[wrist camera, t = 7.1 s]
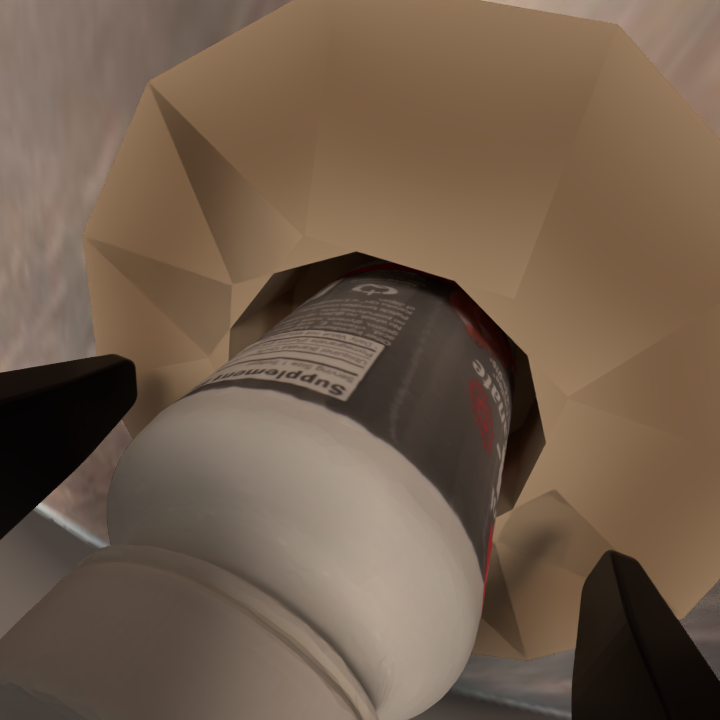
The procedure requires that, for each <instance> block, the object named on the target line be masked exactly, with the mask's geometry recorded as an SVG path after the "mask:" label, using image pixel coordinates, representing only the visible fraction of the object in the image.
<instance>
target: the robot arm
mask: <svg viewBox="0 0 720 720" xmlns="http://www.w3.org/2000/svg"><path fill="white" fill-rule="evenodd" d="M137 396H138V390H137V376H136V366H135V364H134V362H133V361H132V360H130V359H128V358H125V357H123V356H120V355H117V354H108V355H102V356H96V357H90V358H84V359H78V360H73V361H67V362H61V363H55V364H49V365H43V366H37V367H31V368H25V369H20V370H14V371H8V372H2V373H0V540H1V539H2V538H3V537H4V536H5V535H6V534H7V533H8V532H9V531H11V530H12V528H14V527H15V526H16V525H17V524H18V523H19V522H20V521H21V520H22V519H23V518H24V517H25V516H27V515H28V514H29V513H30V512H31V511H32V510H33V509H34V508H35V507H36V506H37V505H38V504H39V503H41V502H42V501H43V500H44V499H45V498H46V497H47V496H48V495H49V494H50V493H51V492H52V491H53V490H54V489H56V488H57V487H58V486H59V485H60V484H61V483H62V482H63V481H64V480H65V479H66V478H67V477H68V476H69V475H71V474H72V473H73V472H74V471H75V470H76V469H77V468H78V467H79V466H80V465H81V464H82V463H83V462H84V461H85V460H86V459H87V457H88V456H89V455H90V454H91V453H92V452H93V451H94V450H95V449H96V447H97V446H98V445H99V444H100V443H101V442H102V441H103V440H104V438H105V437H106V436H107V435H108V434H109V433H110V432H111V431H112V429H113V428H114V427H115V426H116V425H117V424H118V423H119V421H120V420H121V419H122V418H123V417H124V416H125V415H126V414H127V412H128V411H129V410H130V409H131V408H132V407H133V405H134V404H135V402H136V399H137ZM572 720H720V681H719V680H718V678H717V677H716V675H715V674H714V672H713V671H712V669H711V668H710V666H709V665H708V663H707V662H706V660H705V659H704V657H703V656H702V654H701V653H700V651H699V650H698V648H697V647H696V646H695V644H694V643H693V641H692V640H691V638H690V637H689V635H688V634H687V632H686V631H685V629H684V628H683V626H682V625H681V623H680V622H679V620H678V619H677V617H676V616H675V614H674V613H673V612H672V610H671V609H670V607H669V606H668V604H667V603H666V601H665V600H664V598H663V597H662V595H661V594H660V592H659V591H658V589H657V588H656V586H655V585H654V583H653V582H652V580H651V579H650V578H649V576H648V575H647V573H646V572H645V570H644V569H643V567H642V566H641V564H640V563H639V562H638V561H637V560H636V559H634V558H633V557H630V556H628V555H625V554H623V553H620V552H618V551H615V550H607V551H606V552H605V553H604V554H603V555H602V557H601V558H600V560H599V561H598V562H597V564H596V565H595V567H594V568H593V570H592V571H591V573H590V574H589V575H588V577H587V578H586V580H585V582H584V585H583V588H582V593H581V601H580V611H579V620H578V630H577V639H576V649H575V659H574V668H573V679H572Z"/></svg>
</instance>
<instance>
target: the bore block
mask: <svg viewBox="0 0 720 720" xmlns="http://www.w3.org/2000/svg"><path fill="white" fill-rule="evenodd" d="M82 236H83V245H84V253H85V261H86V270H87V278H88V286H89V295H90V303H91V312H92V320H93V328H94V337H95V345H96V353H97V356H102V355H108V354H117V355H120V356H123V357H125V358H128V359H130V360H132V361H133V362H134V364H135V366H136V376H137V390H138V396H137V399H136V402H135V404H134V405H133V407H132V408H131V409H130V410H129V411H128V412H127V414H126V415H125V416H124V417H123V418H122V420H123V421H124V423H125V425H126V427H127V429H128V430H129V432H130V434H131V436H132V438H133V439H134V438H135V437H136V436H137V435H138V434H139V433H140V432H141V431H142V430H143V429H144V428H145V427H146V426H147V425H148V424H149V423H150V422H151V421H152V420H153V419H154V418H155V417H156V416H157V415H158V414H159V413H160V412H161V411H162V410H164V409H165V408H167V407H168V406H170V405H171V404H173V403H174V402H175V401H177V400H178V399H180V398H181V397H183V396H184V395H185V394H187V393H188V392H189V391H190V390H192V389H193V388H194V387H196V386H197V385H198V384H200V383H201V382H202V381H204V380H205V379H206V378H208V377H209V376H210V375H212V374H213V373H214V372H215V371H217V370H218V369H219V368H220V367H222V366H223V365H224V364H226V363H227V362H228V361H230V360H231V359H232V358H234V357H235V356H236V355H237V354H238V353H240V352H241V351H243V350H244V349H245V348H247V347H248V346H250V345H251V344H252V343H254V342H255V341H256V340H257V339H259V338H260V337H261V336H263V335H264V334H265V333H266V332H268V331H269V330H270V329H271V328H273V327H274V326H275V325H276V324H278V323H279V322H280V321H281V320H283V319H284V318H285V317H287V316H288V315H290V314H291V313H292V312H294V311H295V310H296V309H297V308H298V307H300V306H301V305H302V304H303V303H305V302H306V301H307V300H309V299H310V298H311V297H313V296H314V295H316V294H317V293H318V292H319V291H320V290H321V289H322V288H324V287H326V286H327V285H329V284H330V283H331V282H333V281H334V280H336V279H337V278H339V277H340V276H342V275H343V274H345V273H346V272H348V271H350V270H351V269H353V268H355V267H357V266H360V265H362V264H366V263H369V262H371V261H375V260H380V259H384V260H387V261H391V262H394V263H397V264H401V265H404V266H407V267H410V268H414V269H417V270H420V271H424V272H427V273H430V274H434V275H437V276H440V277H444V278H447V279H450V280H454V281H455V282H456V283H457V284H458V285H459V286H460V287H461V288H462V289H463V290H464V291H465V292H466V293H467V294H468V295H469V296H470V297H471V298H472V299H473V300H474V301H475V302H476V303H477V304H478V305H479V306H480V307H481V308H482V309H483V310H484V311H485V312H486V313H487V314H488V315H489V316H490V317H491V319H492V320H493V321H494V322H495V323H496V324H497V325H498V326H499V327H500V328H501V329H502V330H503V331H504V332H505V333H506V334H507V335H508V336H509V337H510V338H511V339H512V340H513V342H514V347H515V352H516V361H517V379H516V388H515V399H514V405H513V409H512V415H511V421H510V427H509V434H508V439H507V446H506V454H505V458H504V466H503V471H502V475H501V486H500V492H499V497H498V505H497V513H496V521H495V528H494V533H493V539H492V550H491V556H490V562H489V568H488V575H487V581H486V591H485V597H484V603H483V610H482V615H481V618H480V622H479V626H478V631H477V635H476V639H475V644H474V647H473V649H472V652H471V654H477V655H485V656H493V657H501V658H508V659H516V660H524V661H529V660H533V659H537V658H540V657H544V656H548V655H551V654H555V653H558V652H562V651H566V650H569V649H573V648H576V639H577V630H578V620H579V611H580V601H581V593H582V588H583V585H584V582H585V580H586V578H587V577H588V575H589V574H590V573H591V571H592V570H593V568H594V567H595V565H596V564H597V562H598V561H599V560H600V558H601V557H602V555H603V554H604V553H605V552H606V551H607V550H615V551H618V552H620V553H623V554H625V555H628V556H630V557H633V558H634V559H636V560H637V561H638V562H639V563H640V564H641V566H642V567H643V569H644V570H645V572H646V573H647V575H648V576H649V578H650V579H651V580H652V582H653V583H654V585H655V586H656V588H657V589H658V591H659V592H660V594H661V595H662V597H663V598H664V600H665V601H666V603H667V604H668V606H669V607H670V609H671V610H672V612H673V613H674V614H675V616H676V617H677V619H682V618H684V617H685V616H686V615H687V614H688V613H689V612H690V610H691V609H692V608H693V607H694V606H695V605H696V604H697V603H698V602H699V601H700V600H701V599H702V598H703V596H704V595H705V594H706V593H707V592H708V591H709V590H710V589H711V588H712V587H713V586H714V585H715V584H716V582H717V581H718V580H719V579H720V139H719V138H718V137H717V135H716V134H715V133H714V132H713V131H712V130H711V129H710V128H709V126H708V125H707V124H706V123H705V122H704V121H703V120H702V119H701V117H700V116H699V115H698V114H697V113H696V112H695V111H694V110H693V108H692V107H691V106H690V105H689V104H688V103H687V102H686V101H685V99H684V98H683V97H682V96H681V95H680V94H679V93H678V91H677V90H676V89H675V88H674V87H673V86H672V85H671V84H670V82H669V81H668V80H667V79H666V78H665V77H664V76H663V75H662V73H661V72H660V71H659V70H658V69H657V68H656V67H655V66H654V64H653V63H652V62H651V61H650V60H649V59H648V58H647V57H646V55H645V54H644V53H643V52H642V51H641V50H640V49H639V47H638V46H637V45H636V44H635V43H634V42H633V41H632V40H631V38H630V37H629V36H628V35H627V34H626V33H625V32H624V31H623V29H622V28H621V27H620V26H619V25H618V24H612V23H606V22H601V21H595V20H589V19H583V18H578V17H572V16H566V15H561V14H555V13H549V12H543V11H538V10H532V9H526V8H520V7H515V6H509V5H503V4H497V3H492V2H486V1H480V0H293V1H291V2H289V3H288V4H286V5H284V6H282V7H280V8H279V9H277V10H275V11H273V12H271V13H270V14H268V15H266V16H264V17H263V18H261V19H259V20H257V21H255V22H254V23H252V24H250V25H248V26H246V27H245V28H243V29H241V30H239V31H238V32H236V33H234V34H232V35H230V36H229V37H227V38H225V39H223V40H221V41H220V42H218V43H216V44H214V45H213V46H211V47H209V48H207V49H205V50H204V51H202V52H200V53H198V54H196V55H195V56H193V57H191V58H189V59H188V60H186V61H184V62H182V63H180V64H179V65H177V66H175V67H173V68H171V69H170V70H168V71H166V72H164V73H162V74H161V75H159V76H157V77H155V78H154V79H152V80H150V81H148V83H147V85H146V88H145V90H144V92H143V95H142V97H141V99H140V102H139V104H138V106H137V109H136V111H135V113H134V116H133V118H132V120H131V123H130V125H129V127H128V130H127V132H126V134H125V137H124V139H123V142H122V144H121V146H120V149H119V151H118V153H117V156H116V158H115V160H114V163H113V165H112V167H111V170H110V172H109V174H108V177H107V179H106V181H105V184H104V186H103V188H102V191H101V193H100V195H99V198H98V200H97V202H96V205H95V207H94V209H93V212H92V214H91V216H90V219H89V221H88V224H87V226H86V228H85V231H84V233H83V235H82Z"/></svg>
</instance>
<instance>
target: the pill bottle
mask: <svg viewBox="0 0 720 720" xmlns="http://www.w3.org/2000/svg"><path fill="white" fill-rule="evenodd" d="M516 379H517V361H516V352H515V347H514V342H513V340H512V339H511V338H510V337H509V336H508V335H507V334H506V333H505V332H504V331H503V330H502V329H501V328H500V327H499V326H498V325H497V324H496V323H495V322H494V321H493V320H492V319H491V317H490V316H489V315H488V314H487V313H486V312H485V311H484V310H483V309H482V308H481V307H480V306H479V305H478V304H477V303H476V302H475V301H474V300H473V299H472V298H471V297H470V296H469V295H468V294H467V293H466V292H465V291H464V290H463V289H462V288H461V287H460V286H459V285H458V284H457V283H456V282H455V281H454V280H450V279H447V278H444V277H440V276H437V275H434V274H430V273H427V272H424V271H420V270H417V269H414V268H410V267H407V266H404V265H401V264H397V263H394V262H391V261H387V260H384V259H380V260H375V261H371V262H369V263H366V264H362V265H360V266H357V267H355V268H353V269H351V270H350V271H348V272H346V273H345V274H343V275H342V276H340V277H339V278H337V279H336V280H334V281H333V282H331V283H330V284H329V285H327V286H326V287H324V288H322V289H321V290H320V291H319V292H318V293H317V294H316V295H314V296H313V297H311V298H310V299H309V300H307V301H306V302H305V303H303V304H302V305H301V306H300V307H298V308H297V309H296V310H295V311H294V312H292V313H291V314H290V315H288V316H287V317H285V318H284V319H283V320H281V321H280V322H279V323H278V324H276V325H275V326H274V327H273V328H271V329H270V330H269V331H268V332H266V333H265V334H264V335H263V336H261V337H260V338H259V339H257V340H256V341H255V342H254V343H252V344H251V345H250V346H248V347H247V348H245V349H244V350H243V351H241V352H240V353H238V354H237V355H236V356H235V357H234V358H232V359H231V360H230V361H228V362H227V363H226V364H224V365H223V366H222V367H220V368H219V369H218V370H217V371H215V372H214V373H213V374H212V375H210V376H209V377H208V378H206V379H205V380H204V381H202V382H201V383H200V384H198V385H197V386H196V387H194V388H193V389H192V390H190V391H189V392H188V393H187V394H185V395H184V396H183V397H181V398H180V399H178V400H177V401H175V402H174V403H173V404H171V405H170V406H168V407H167V408H165V409H164V410H162V411H161V412H160V413H159V414H158V415H157V416H156V417H155V418H154V419H153V420H152V421H151V422H150V423H149V424H148V425H147V426H146V427H145V428H144V429H143V430H142V431H141V432H140V433H139V434H138V435H137V436H136V437H135V438H134V440H133V441H132V442H131V443H130V445H129V446H128V448H127V449H126V450H125V452H124V454H123V455H122V457H121V459H120V461H119V462H118V465H117V467H116V470H115V472H114V475H113V477H112V481H111V485H110V489H109V493H108V503H107V524H108V534H109V538H110V543H111V546H107V547H104V548H101V549H99V550H97V551H95V552H93V553H91V554H90V555H88V556H86V557H85V558H84V559H83V560H82V561H81V562H79V564H77V566H76V567H75V569H74V570H73V572H72V573H70V574H67V575H66V576H64V577H63V578H62V579H61V580H60V581H59V582H58V583H57V584H56V585H55V586H54V587H53V588H52V589H51V591H50V592H49V593H47V594H46V595H45V596H44V597H43V598H42V599H41V600H40V601H39V602H38V603H37V604H36V605H35V606H34V607H33V608H32V609H31V610H29V611H28V612H27V613H26V614H25V615H24V616H23V617H22V618H21V619H20V620H19V621H18V622H17V623H16V624H15V625H14V626H13V627H12V628H11V629H10V630H9V631H8V632H7V633H6V634H5V635H4V636H3V637H2V638H1V639H0V720H409V719H411V718H413V717H415V716H417V715H419V714H421V713H422V712H424V711H425V710H427V709H428V708H430V707H431V706H433V705H434V704H435V703H436V702H437V701H439V700H440V699H441V698H442V697H443V696H444V695H445V694H446V693H447V692H448V691H449V689H450V688H451V687H452V686H453V685H454V683H455V682H456V681H457V679H458V678H459V676H460V675H461V673H462V672H463V670H464V668H465V666H466V664H467V662H468V660H469V657H470V654H471V652H472V649H473V647H474V644H475V639H476V635H477V631H478V626H479V622H480V618H481V615H482V610H483V603H484V597H485V591H486V581H487V575H488V568H489V562H490V556H491V550H492V539H493V533H494V528H495V521H496V513H497V505H498V497H499V492H500V486H501V475H502V471H503V466H504V458H505V454H506V446H507V439H508V434H509V427H510V421H511V415H512V409H513V405H514V399H515V388H516Z"/></svg>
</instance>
